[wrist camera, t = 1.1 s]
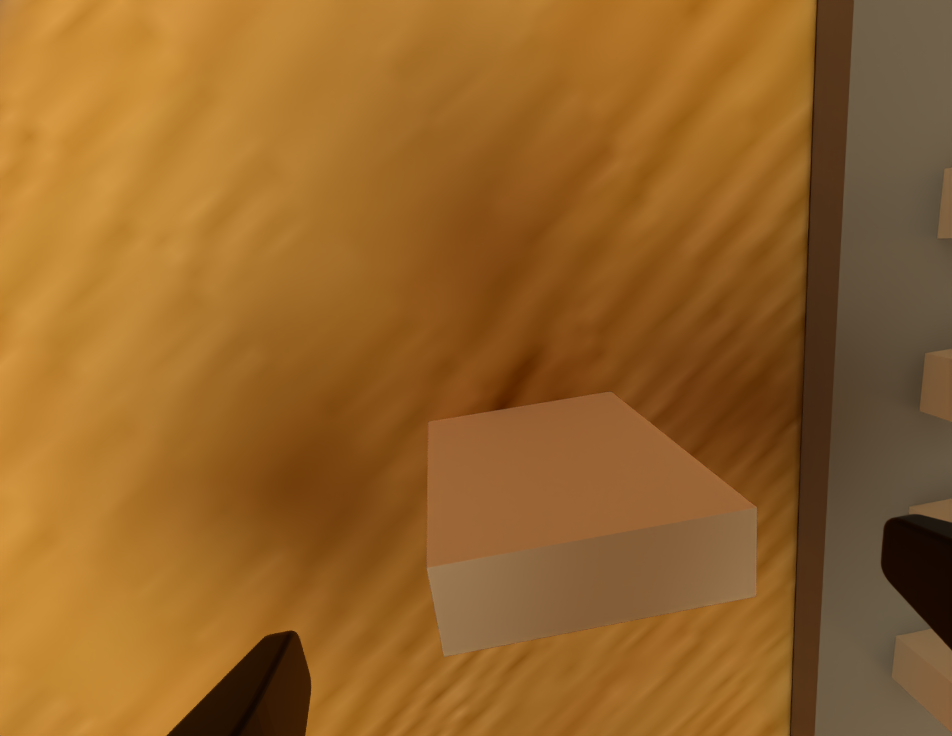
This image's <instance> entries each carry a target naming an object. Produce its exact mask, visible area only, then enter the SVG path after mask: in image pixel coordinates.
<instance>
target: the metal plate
mask: <svg viewBox="0 0 952 736" xmlns="http://www.w3.org/2000/svg"><path fill="white" fill-rule="evenodd" d="M946 168H952V0H818V16H817V42H816V69H815V96H814V123H813V150H812V177H811V204H810V231H809V258H808V285H807V312H806V339H805V366H804V393H803V420H802V447H801V474H800V501H799V528H798V555H797V582H796V609H795V636H794V663H793V690H792V717H791V736H952V733H951V732H950V731H949V730H948V729H947V728H946V727H945V726H944V725H942V724H941V723H940V722H939V721H938V720H937V719H936V718H935V717H934V716H933V715H932V714H931V713H930V712H929V711H927V710H926V709H925V708H924V707H923V706H922V705H921V704H920V703H919V702H918V701H917V700H916V699H915V698H913V697H912V696H911V695H910V694H909V693H908V692H907V691H906V690H905V689H904V688H903V687H902V686H901V685H899V684H898V683H897V682H896V681H895V680H894V679H893V678H892V671H893V661H894V651H895V642H896V636H899V635H904V634H909V633H914V632H919V631H924V630H929V629H931V628H930V626H929V625H928V624H927V623H926V622H925V621H924V620H923V619H922V618H921V617H920V616H919V614H918V613H917V612H916V611H915V610H914V609H913V608H912V607H911V606H910V605H909V604H908V602H907V601H906V600H905V599H904V598H903V597H902V596H901V595H900V594H899V593H898V592H897V591H896V589H895V588H894V587H893V586H892V585H891V584H890V583H889V582H888V580H887V579H886V577H885V576H884V574H883V571H882V569H881V550H882V539H883V528H884V524H885V523H886V521H887V520H889V519H890V518H893V517H899V516H904V515H909V507H910V506H916V505H921V504H926V503H932V502H937V501H942V500H948V499H952V422H951V421H948V420H945V419H942V418H939V417H936V416H933V415H930V414H927V413H924V412H921V411H919V410H920V400H921V390H922V381H923V371H924V361H925V353H930V352H936V351H942V350H948V349H952V238H938V239H937V236H938V226H939V216H940V207H941V197H942V187H943V178H944V169H946Z"/></svg>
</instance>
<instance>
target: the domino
mask: <svg viewBox="0 0 952 736" xmlns="http://www.w3.org/2000/svg"><path fill="white" fill-rule="evenodd" d="M756 560H757V507H756V506H755V505H753V504H752V503H751V502H750V501H748V500H747V499H746V498H744V497H743V496H742V495H741V494H739V493H738V492H737V491H736V490H734V489H733V488H732V487H731V486H729V485H728V484H727V483H726V482H724V481H723V480H722V479H721V478H719V477H718V476H717V475H716V474H714V473H713V472H712V471H711V470H709V469H708V468H707V467H706V466H704V465H703V464H702V463H701V462H699V461H698V460H697V459H696V458H694V457H693V456H692V455H690V454H689V453H688V452H687V451H685V450H684V449H683V448H682V447H680V446H679V445H678V444H677V443H675V442H674V441H673V440H672V439H670V438H669V437H668V436H667V435H665V434H664V433H663V432H662V431H660V430H659V429H658V428H657V427H655V426H654V425H653V424H652V423H650V422H649V421H648V420H647V419H645V418H644V417H643V416H641V415H640V414H639V413H638V412H636V411H635V410H634V409H633V408H631V407H630V406H629V405H628V404H626V403H625V402H624V401H623V400H621V399H620V398H619V397H618V396H616V395H615V394H614V393H613V392H611V391H610V392H604V393H598V394H592V395H586V396H580V397H574V398H568V399H562V400H556V401H550V402H544V403H538V404H532V405H526V406H520V407H514V408H508V409H502V410H496V411H490V412H483V413H477V414H471V415H465V416H459V417H453V418H447V419H441V420H435V421H429V422H428V482H427V573H428V578H429V583H430V588H431V593H432V598H433V603H434V608H435V614H436V619H437V624H438V629H439V634H440V639H441V644H442V650H443V655H444V657H446V656H451V655H457V654H462V653H467V652H472V651H477V650H482V649H488V648H493V647H498V646H503V645H508V644H514V643H519V642H524V641H529V640H534V639H539V638H545V637H550V636H555V635H560V634H565V633H570V632H576V631H581V630H586V629H591V628H596V627H601V626H607V625H612V624H617V623H622V622H627V621H632V620H638V619H643V618H648V617H653V616H658V615H664V614H669V613H674V612H679V611H684V610H689V609H695V608H700V607H705V606H710V605H715V604H720V603H726V602H731V601H736V600H741V599H746V598H751V597H756Z"/></svg>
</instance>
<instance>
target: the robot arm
mask: <svg viewBox="0 0 952 736" xmlns="http://www.w3.org/2000/svg"><path fill="white" fill-rule="evenodd" d="M881 569H882V571H883V574H884V576H885V577H886V579H887V580H888V582H889V583H890V584H891V585H892V586H893V587H894V588H895V589H896V591H897V592H898V593H899V594H900V595H901V596H902V597H903V598H904V599H905V600H906V601H907V602H908V604H909V605H910V606H911V607H912V608H913V609H914V610H915V611H916V612H917V613H918V614H919V616H920V617H921V618H922V619H923V620H924V621H925V622H926V623H927V624H928V625H929V626H930V628H931V629H932V630H933V631H934V632H935V633H936V634H937V635H938V636H939V637H940V638H941V639H942V641H943V642H944V643H945V644H946V645H947V646H948V647H949V648H950V649H951V650H952V522H948V521H944V520H940V519H936V518H932V517H928V516H924V515H920V514H909V515H904V516H899V517H893V518H890V519H889V520H887V521H886V523H885V524H884V528H883V539H882V550H881ZM310 696H311V678H310V673H309V669H308V666H307V662H306V659H305V655H304V652H303V648H302V645H301V641H300V638H299V636H298V634H297V633H296V632H295V631H285V632H280V633H274V634H270V635H267V636H265V637H264V638H263V639H262V640H261V641H260V642H259V643H258V644H257V645H256V646H255V647H254V648H253V649H252V650H251V651H250V652H249V653H248V654H247V655H246V656H245V657H244V658H243V659H242V660H241V661H240V662H239V663H238V664H237V665H236V666H235V667H234V668H233V669H232V670H231V671H230V672H229V673H228V674H227V675H226V676H225V677H224V678H223V679H222V680H221V681H220V682H219V683H218V684H217V685H216V686H215V687H214V688H213V689H212V690H211V691H210V692H209V693H208V694H207V695H206V696H205V697H204V698H203V699H202V700H201V701H200V702H199V703H198V704H197V705H196V706H195V707H194V708H193V709H192V710H191V711H190V712H189V713H188V714H187V715H186V716H185V717H184V718H183V719H182V720H181V721H180V722H179V723H178V724H177V725H176V726H175V727H174V728H173V730H172V731H171V732H170V733H169V734H168V735H167V736H305V733H306V726H307V719H308V711H309V704H310Z"/></svg>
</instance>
